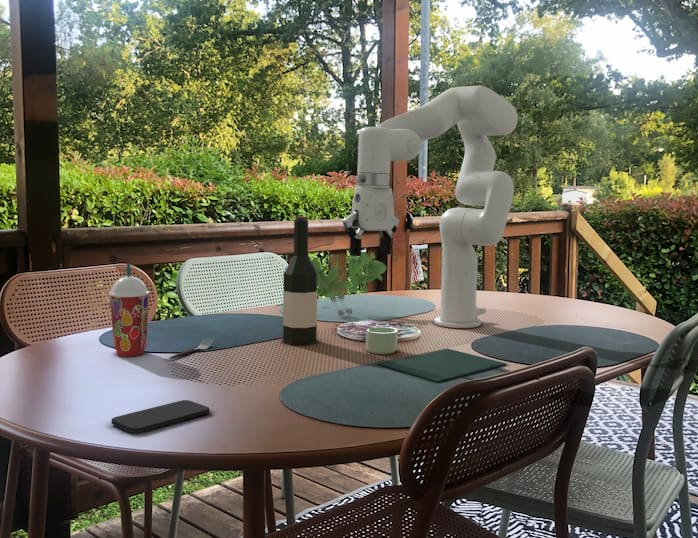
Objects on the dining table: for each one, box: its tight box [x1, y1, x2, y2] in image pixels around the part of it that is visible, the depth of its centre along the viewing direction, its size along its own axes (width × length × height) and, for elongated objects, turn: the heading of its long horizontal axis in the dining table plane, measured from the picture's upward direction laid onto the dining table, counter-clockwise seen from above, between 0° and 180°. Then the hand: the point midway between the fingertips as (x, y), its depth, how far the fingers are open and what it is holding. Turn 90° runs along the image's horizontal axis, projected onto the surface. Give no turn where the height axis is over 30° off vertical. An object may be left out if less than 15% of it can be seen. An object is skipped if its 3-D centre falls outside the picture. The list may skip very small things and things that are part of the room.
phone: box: [111, 399, 210, 433], centre depth 123 cm, size 7×1×15 cm
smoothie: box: [108, 263, 150, 357], centre depth 165 cm, size 8×8×20 cm
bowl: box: [365, 326, 399, 355], centre depth 172 cm, size 7×7×5 cm
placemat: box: [377, 348, 507, 383], centre depth 162 cm, size 22×17×1 cm
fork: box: [169, 336, 215, 360], centre depth 168 cm, size 3×16×2 cm, turn 159°
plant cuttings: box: [276, 251, 387, 319], centre depth 213 cm, size 35×17×22 cm
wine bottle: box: [282, 215, 318, 346], centre depth 179 cm, size 8×8×30 cm
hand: (370, 254), depth 176 cm, fingers open, 9 cm apart
